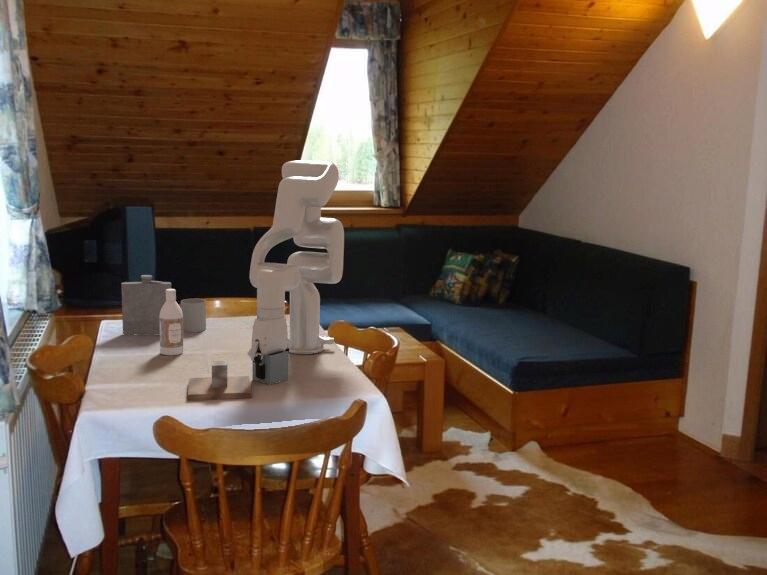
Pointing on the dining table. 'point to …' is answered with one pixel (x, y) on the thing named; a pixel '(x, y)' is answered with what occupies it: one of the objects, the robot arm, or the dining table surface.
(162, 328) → the bath foam
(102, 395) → the dining table surface
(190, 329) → the cup
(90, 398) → the dining table surface
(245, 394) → the base
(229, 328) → the dining table surface
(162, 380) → the dining table surface
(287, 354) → the duct sleeve
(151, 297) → the hip flask
